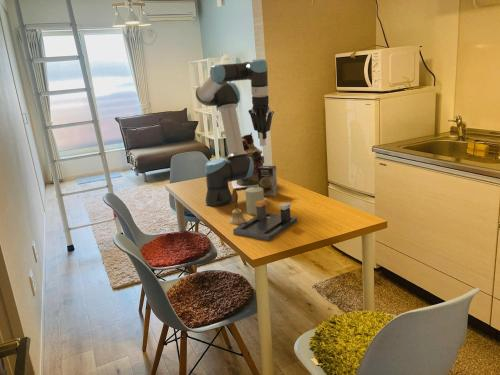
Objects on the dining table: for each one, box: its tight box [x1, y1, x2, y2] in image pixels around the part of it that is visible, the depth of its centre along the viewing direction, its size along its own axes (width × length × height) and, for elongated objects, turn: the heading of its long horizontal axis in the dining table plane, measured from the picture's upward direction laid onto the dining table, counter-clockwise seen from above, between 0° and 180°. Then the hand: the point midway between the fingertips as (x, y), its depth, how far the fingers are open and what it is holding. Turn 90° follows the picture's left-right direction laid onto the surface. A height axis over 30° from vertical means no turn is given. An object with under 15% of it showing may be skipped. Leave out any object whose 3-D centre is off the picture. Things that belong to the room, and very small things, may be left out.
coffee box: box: [258, 165, 278, 197], centre depth 225 cm, size 9×6×16 cm
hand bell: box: [228, 188, 248, 226], centre depth 186 cm, size 8×8×16 cm
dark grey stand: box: [232, 202, 298, 242], centre depth 177 cm, size 18×24×10 cm
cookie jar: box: [230, 132, 265, 190], centre depth 248 cm, size 25×25×32 cm
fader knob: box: [255, 199, 268, 221], centre depth 183 cm, size 3×5×9 cm
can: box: [244, 187, 265, 216], centre depth 199 cm, size 9×9×12 cm
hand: (262, 145), depth 189 cm, fingers closed
